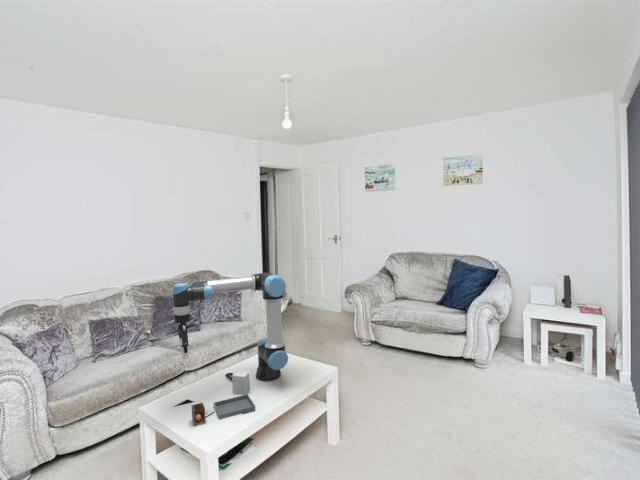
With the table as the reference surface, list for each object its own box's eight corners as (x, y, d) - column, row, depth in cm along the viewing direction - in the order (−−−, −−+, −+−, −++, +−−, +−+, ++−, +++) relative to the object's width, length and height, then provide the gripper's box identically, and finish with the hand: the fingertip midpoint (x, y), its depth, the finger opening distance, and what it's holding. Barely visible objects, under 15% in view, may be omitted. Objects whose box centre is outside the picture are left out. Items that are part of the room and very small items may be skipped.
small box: (250, 390, 206) (249, 372, 205) (245, 395, 200) (244, 376, 200) (237, 389, 208) (236, 371, 207) (232, 393, 202) (231, 375, 202)
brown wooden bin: (203, 418, 178) (202, 402, 178) (205, 424, 173) (204, 408, 172) (192, 421, 176) (191, 405, 176) (194, 427, 171) (193, 411, 170)
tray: (247, 398, 197) (247, 394, 196) (255, 410, 184) (255, 405, 184) (213, 407, 188) (213, 402, 188) (219, 420, 176) (219, 415, 176)
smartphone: (196, 403, 194) (196, 402, 193) (170, 419, 179) (169, 417, 179) (187, 400, 197) (187, 398, 197) (160, 415, 183) (160, 413, 183)
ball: (201, 418, 177) (201, 412, 177) (202, 421, 175) (202, 415, 174) (194, 420, 176) (194, 414, 176) (195, 423, 173) (195, 417, 173)
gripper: (171, 309, 196) (173, 348, 197) (176, 320, 174) (179, 364, 175) (186, 307, 199) (188, 345, 201) (193, 318, 177) (195, 361, 178)
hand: (184, 354), depth 188 cm, fingers open, 13 cm apart
